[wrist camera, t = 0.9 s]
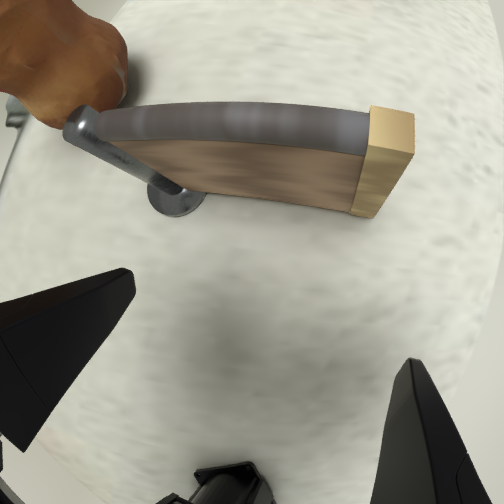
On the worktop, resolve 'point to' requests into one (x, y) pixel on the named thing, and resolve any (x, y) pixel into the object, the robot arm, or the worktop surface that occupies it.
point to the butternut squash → (60, 59)
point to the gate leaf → (270, 150)
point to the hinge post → (130, 165)
